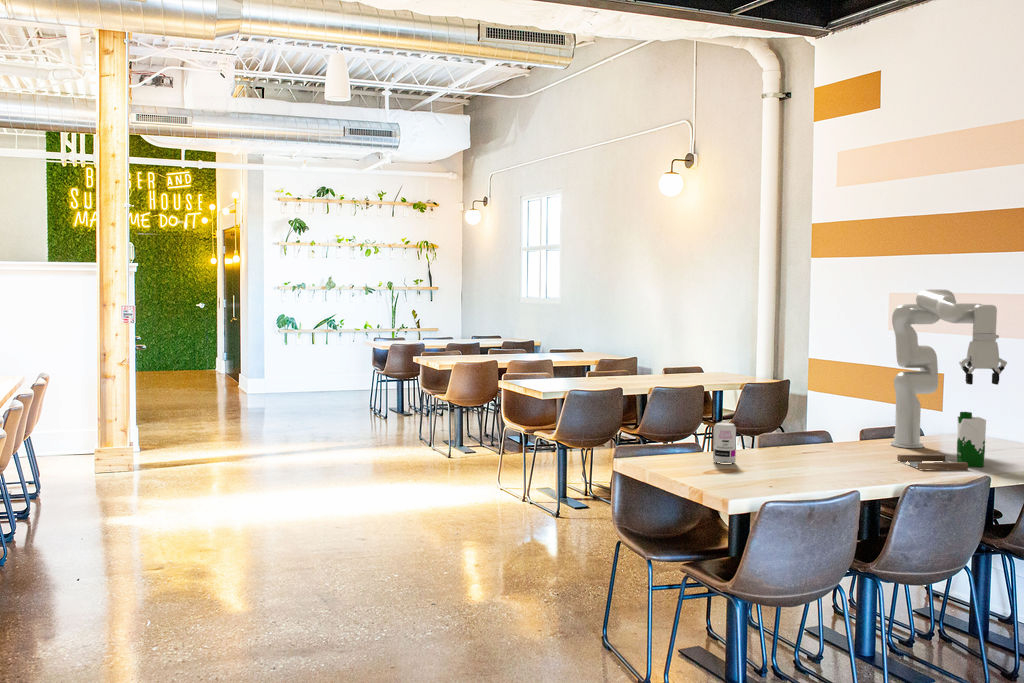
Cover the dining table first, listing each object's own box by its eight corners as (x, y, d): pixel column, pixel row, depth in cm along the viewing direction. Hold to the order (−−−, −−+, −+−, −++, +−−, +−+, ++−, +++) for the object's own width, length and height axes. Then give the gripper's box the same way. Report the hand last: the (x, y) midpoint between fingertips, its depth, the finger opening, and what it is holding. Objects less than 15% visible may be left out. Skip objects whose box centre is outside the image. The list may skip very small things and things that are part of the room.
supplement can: (727, 460, 331) (728, 421, 330) (739, 464, 323) (740, 425, 322) (709, 461, 328) (709, 422, 327) (720, 465, 320) (721, 426, 319)
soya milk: (953, 462, 328) (955, 410, 326) (979, 463, 326) (981, 411, 324) (960, 466, 319) (962, 413, 318) (987, 468, 317) (989, 414, 316)
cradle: (897, 461, 329) (897, 454, 329) (942, 460, 330) (942, 454, 330) (920, 470, 313) (920, 463, 313) (967, 469, 314) (967, 463, 314)
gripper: (1001, 337, 319) (999, 382, 320) (955, 337, 318) (953, 382, 319) (1013, 338, 311) (1011, 385, 312) (966, 338, 311) (964, 385, 312)
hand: (982, 384), depth 316 cm, fingers open, 9 cm apart
